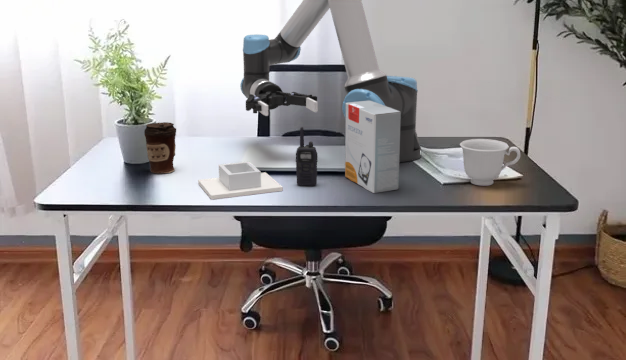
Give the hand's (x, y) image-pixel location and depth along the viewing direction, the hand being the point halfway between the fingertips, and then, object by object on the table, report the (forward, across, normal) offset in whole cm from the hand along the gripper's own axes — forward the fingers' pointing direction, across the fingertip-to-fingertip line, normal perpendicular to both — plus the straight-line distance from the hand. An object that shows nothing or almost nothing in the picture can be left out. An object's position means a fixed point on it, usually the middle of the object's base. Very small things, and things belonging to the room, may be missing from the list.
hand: (291, 108), depth 191 cm
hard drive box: (+16, -16, -18) cm, 28 cm away
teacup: (+27, -43, -17) cm, 54 cm away
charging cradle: (+6, +16, -18) cm, 25 cm away
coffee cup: (-16, +32, -18) cm, 40 cm away
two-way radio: (+10, 0, -18) cm, 20 cm away
